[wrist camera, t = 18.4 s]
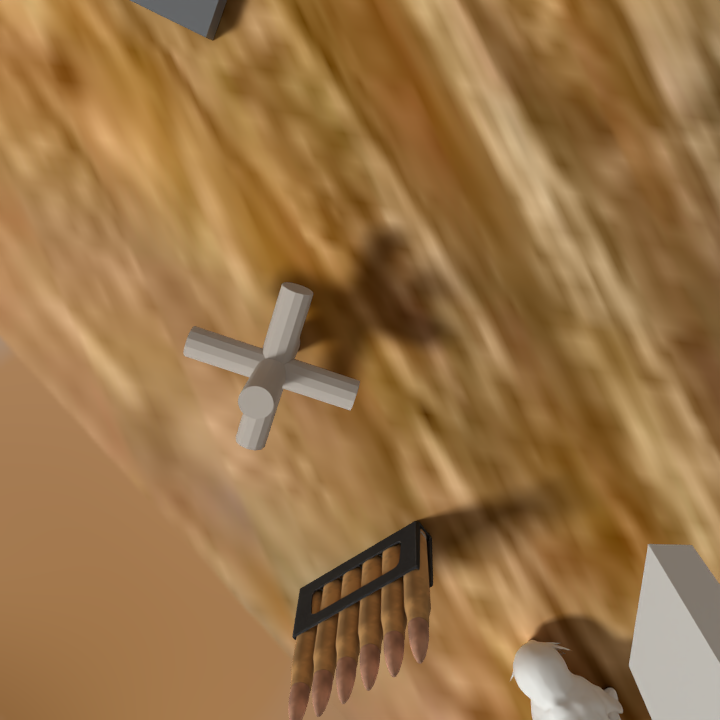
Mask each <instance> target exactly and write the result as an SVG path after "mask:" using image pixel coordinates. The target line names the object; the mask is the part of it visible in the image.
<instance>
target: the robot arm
mask: <svg viewBox="0 0 720 720" xmlns="http://www.w3.org/2000/svg"><path fill="white" fill-rule="evenodd" d="M629 667H630V670H631V672H632V674H633V677H634V679H635V681H636V684H637V686H638V688H639V691H640V693H641V695H642V698H643V700H644V702H645V705H646V707H647V709H648V712H649V714H650V716H651V719H652V720H720V584H719V583H718V582H717V580H716V579H715V577H714V576H713V574H712V573H711V572H710V570H709V569H708V567H707V566H706V564H705V563H704V562H703V560H702V559H701V557H700V556H699V554H698V553H697V552H696V550H695V549H694V547H693V546H692V545H662V544H648V549H647V556H646V562H645V568H644V574H643V580H642V587H641V593H640V599H639V605H638V611H637V618H636V624H635V630H634V636H633V642H632V648H631V655H630V661H629Z"/></svg>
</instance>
